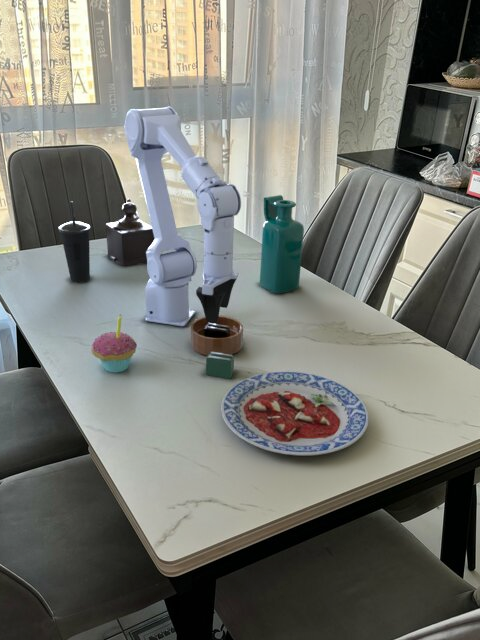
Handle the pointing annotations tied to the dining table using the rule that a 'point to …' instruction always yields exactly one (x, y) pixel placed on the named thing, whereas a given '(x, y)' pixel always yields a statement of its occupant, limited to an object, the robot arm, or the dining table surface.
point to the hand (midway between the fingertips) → (217, 314)
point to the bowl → (217, 344)
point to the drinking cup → (76, 248)
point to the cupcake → (114, 349)
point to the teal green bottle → (280, 246)
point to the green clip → (220, 365)
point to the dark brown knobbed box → (129, 237)
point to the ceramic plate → (294, 413)
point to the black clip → (216, 331)
